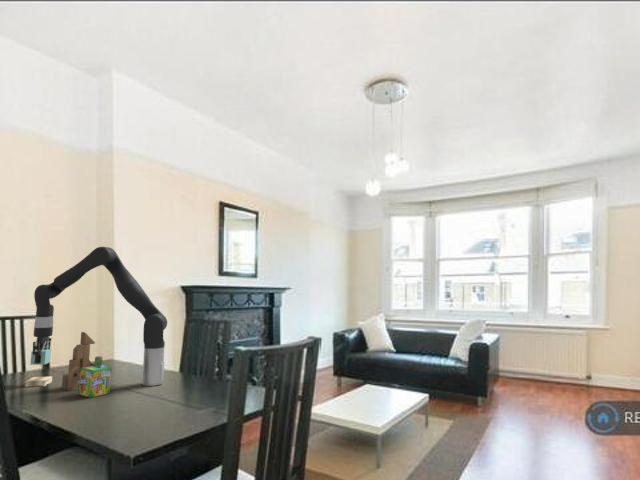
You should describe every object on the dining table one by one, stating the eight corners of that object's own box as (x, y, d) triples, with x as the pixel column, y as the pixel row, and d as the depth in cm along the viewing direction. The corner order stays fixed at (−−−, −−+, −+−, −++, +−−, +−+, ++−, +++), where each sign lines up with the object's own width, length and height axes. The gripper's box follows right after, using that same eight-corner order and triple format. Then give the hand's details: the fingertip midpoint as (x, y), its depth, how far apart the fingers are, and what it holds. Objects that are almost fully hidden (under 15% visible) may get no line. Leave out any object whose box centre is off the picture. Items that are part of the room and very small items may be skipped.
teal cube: (50, 361, 198) (51, 349, 199) (44, 364, 192) (45, 351, 193) (36, 362, 197) (37, 349, 198) (30, 364, 191) (31, 351, 192)
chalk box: (77, 395, 177) (80, 360, 178) (98, 390, 185) (100, 357, 186) (90, 398, 172) (93, 362, 174) (110, 393, 180) (113, 359, 182)
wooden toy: (70, 391, 183) (74, 334, 185) (61, 389, 186) (65, 333, 188) (102, 383, 197) (105, 330, 199) (93, 382, 200) (96, 330, 202)
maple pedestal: (51, 382, 199) (52, 376, 199) (44, 386, 191) (45, 380, 191) (33, 383, 197) (33, 377, 197) (25, 387, 189) (25, 381, 189)
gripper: (45, 327, 190) (42, 364, 189) (58, 324, 204) (55, 359, 203) (27, 328, 189) (24, 365, 187) (41, 324, 203) (38, 359, 201)
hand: (40, 361), depth 195 cm, fingers closed on teal cube, 6 cm apart
